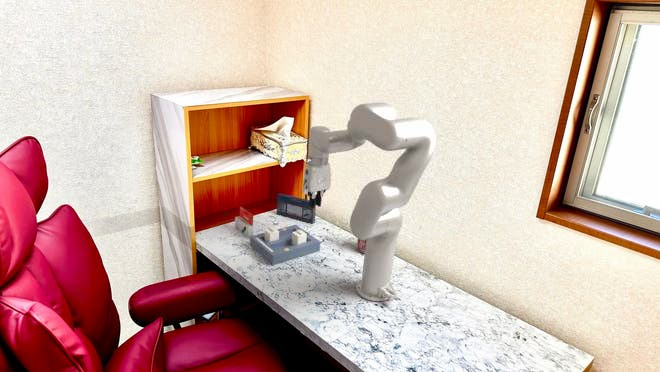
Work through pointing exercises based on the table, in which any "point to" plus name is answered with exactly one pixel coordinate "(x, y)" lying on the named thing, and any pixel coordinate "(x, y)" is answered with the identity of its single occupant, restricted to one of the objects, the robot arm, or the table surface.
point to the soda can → (361, 245)
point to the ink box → (244, 223)
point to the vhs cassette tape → (295, 208)
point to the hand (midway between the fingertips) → (314, 205)
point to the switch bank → (284, 246)
